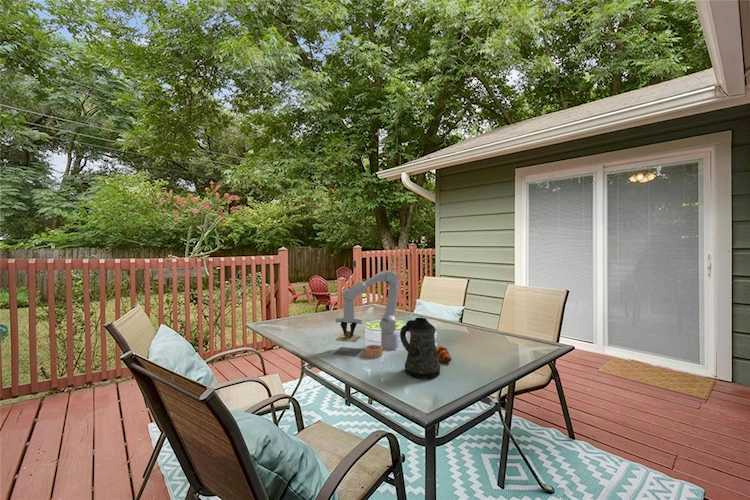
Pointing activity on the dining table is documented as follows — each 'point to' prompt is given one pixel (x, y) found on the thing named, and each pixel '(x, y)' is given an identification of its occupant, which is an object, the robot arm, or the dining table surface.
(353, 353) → the mat
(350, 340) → the lid
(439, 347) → the croissant
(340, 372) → the dining table surface
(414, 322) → the beer stein
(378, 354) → the bowl
